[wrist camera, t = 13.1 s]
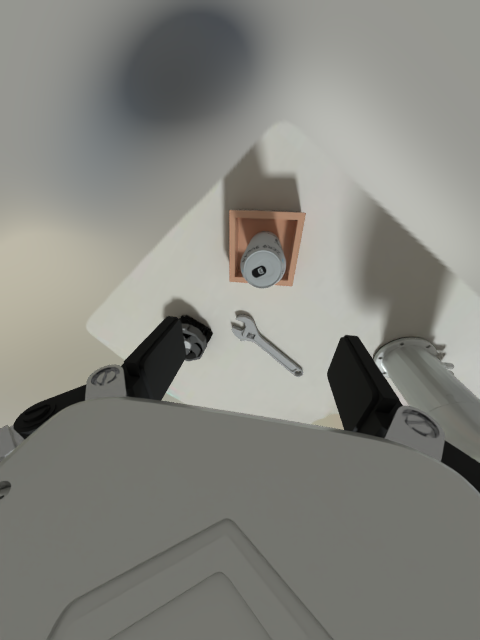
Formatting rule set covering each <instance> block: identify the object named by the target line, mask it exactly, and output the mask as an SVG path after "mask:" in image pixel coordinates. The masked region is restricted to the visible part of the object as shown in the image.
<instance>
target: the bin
mask: <svg viewBox="0 0 480 640" xmlns="http://www.w3.org/2000/svg"><path fill="white" fill-rule="evenodd" d="M305 215H306V213H304V212H291V211H264V210H236V209H234V210H229V275H230V282H242V283H248V282H247V281H246V280H245V279H244V277H243V275H242V273H241V268H240V264H241V259H242V256H243V254H244V252H245V250H246V248H247V246H248V244H249V243H250V241H251V239H252V237H253V236H254V235H256V234H257V233H259V232H261V231H270V232H272V233H274V234H275V235H276V236H277V237H278V238H279V240H280V243H281V246H282V250H283V253H284V256H285V259H286V270H285V273H284V275H283V277H282V278H281V279H280V281H279V282H277V283H276V284H275V285H282V286H292V285H293V280H294V274H295V269H296V263H297V258H298V253H299V247H300V242H301V237H302V231H303V226H304V220H305Z"/></svg>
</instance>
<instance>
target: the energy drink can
mask: <svg viewBox="0 0 480 640" xmlns="http://www.w3.org/2000/svg"><path fill="white" fill-rule="evenodd" d="M240 268H241V273H242V275H243V277H244V279H245V280H246V281H247V282H248V283H249V284H251V285H252V286H254V287H257V288H268V287H271V286H273V285H275V284H276V283H277V282H279V281H280V279H281V278H282V277H283V275H284V273H285V270H286V259H285V256H284V253H283V250H282V246H281V243H280V240H279V238H278V237H277V236H276V235H275V234H274V233H272V232H270V231H261V232H259V233H257V234H256V235H254V236H253V237H252V239H251V241H250V243H249V244H248V246H247V248H246V250H245V252H244V254H243V256H242V259H241V264H240Z"/></svg>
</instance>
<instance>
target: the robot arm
mask: <svg viewBox="0 0 480 640" xmlns="http://www.w3.org/2000/svg"><path fill="white" fill-rule="evenodd" d="M185 358H186V349H185V343H184V336H183V330H182V324H181V320H179V319H178V318H177V317H170V316H168V317H166V318H165V319H164V320H163V321H162V322H161V323H160V324H159V326H158V327H157V328H156V329H155V330H154V331H153V332H152V333H151V334H150V335H149V336H148V337H147V338H146V339H145V340H144V341H143V342H142V343H141V344H140V345H139V346H138V347H137V348H136V349H135V350H134V351H133V353H132V354H131V355H130V356H129V357H128V358H127V359H126V360H125V361H124V364H123V365H122V366H119V365H108V366H104V367H102V368H100V369H98V370H96V371H95V372H94V373H92V374H91V375H90V376H89V378H88V380H87V384H86V385H83V386H81V387H78V388H76V389H73V390H70V391H68V392H65V393H63V394H60V395H57V396H55V397H52V398H49V399H47V400H44V401H41V402H39V403H37V404H35V405H33V406H31V407H30V408H28V409H27V410H25V411H24V412H23V413H22V414H20V416H19V417H18V418H17V419H16V421H15V423H14V425H13V426H11V427H9V426H8V425H6V426H4V427H3V428H0V640H480V399H478V398H477V397H476V396H475V395H474V394H473V393H472V392H471V391H470V390H469V389H468V388H467V387H466V386H464V385H463V384H462V383H461V382H460V381H459V380H458V379H457V378H456V377H455V376H454V373H453V372H452V371H450V370H447V369H453V368H454V365H453V364H452V363H443V362H441V361H440V360H439V359H438V358H437V351H436V348H435V347H434V346H433V345H432V344H431V343H430V342H428V341H426V340H424V339H421V338H414V337H411V338H402V339H398V340H395V341H392V342H390V343H388V344H386V345H385V346H383V347H382V348H381V349H380V350H379V351H378V352H377V353H376V355H375V357H374V360H373V359H372V357H371V356H370V354H369V353H368V351H367V350H366V348H365V346H364V345H363V343H362V342H361V340H360V339H359V337H358V336H350V335H345V336H344V337H341V338H340V341H339V343H338V346H337V349H336V351H335V354H334V356H333V359H332V362H331V364H330V367H329V369H328V373H327V377H328V380H329V383H330V387H331V390H332V393H333V396H334V399H335V402H336V405H337V408H338V412H339V415H340V418H341V421H342V424H343V427H344V430H340V429H335V428H330V427H323V426H318V425H312V424H306V423H300V422H294V421H288V420H281V419H275V418H269V417H263V416H257V415H250V414H244V413H238V412H232V411H225V410H219V409H213V408H206V407H200V406H193V405H187V404H180V403H174V402H167V401H161V400H162V398H163V396H164V395H165V393H166V391H167V389H168V388H169V386H170V384H171V383H172V381H173V379H174V377H175V376H176V374H177V372H178V370H179V369H180V367H181V365H182V363H183V362H184V360H185ZM384 376H385V377H388V378H390V379H391V380H392V382H393V383H394V384H395V386H396V387H397V389H398V390H399V392H400V393H401V395H402V396H403V398H404V399H405V400H406V402H407V403H408V405H409V406H403V405H402V404H401V402H400V401H399V398H398V397H397V395H396V394H395V392H394V391H393V389H392V388H391V386H390V385H389V383H388V382H387V380H386V379H385V377H384Z"/></svg>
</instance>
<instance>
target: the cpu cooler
mask: <svg viewBox="0 0 480 640" xmlns="http://www.w3.org/2000/svg"><path fill="white" fill-rule="evenodd" d="M188 318H189V320H188ZM179 320H181V324H182V330H183V336H184V343H185V349H186V358H185V360H186V361H192V360H197V359H200V358H201V356H202V354H203V353H204V351H205V349H206V347H207V343H208V342H209V340H210V338H211V336H212V334H213V333H212V332H210V331H211V329H210V330H209V328H208V327H204V325H203V324H202V325H203V327H202V325H201V326H198V327H199V329H198V327H197V324H196V327H195V324H194V322H193V323H191V320H192V321H193V318H191V319H190V317H187V315H186V317H184V316H181V318H180V319H179ZM194 321H195V323H196V320H194ZM197 323H198V322H197ZM192 324H193V325H192ZM200 324H201V323H200ZM198 325H199V323H198ZM200 327H201V328H200ZM207 328H208V330H207ZM189 351H190V353H189Z"/></svg>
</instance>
